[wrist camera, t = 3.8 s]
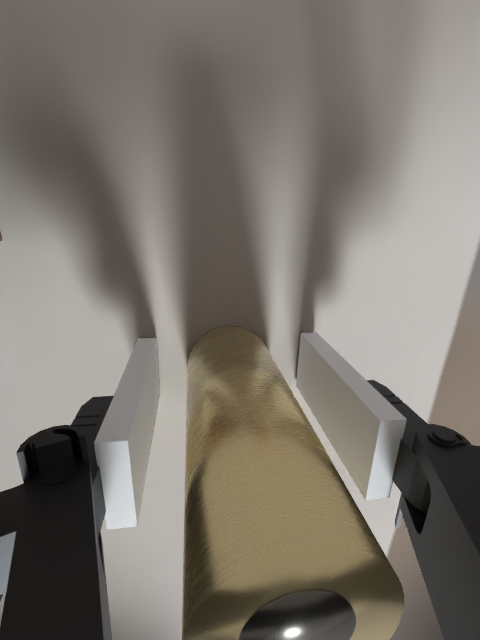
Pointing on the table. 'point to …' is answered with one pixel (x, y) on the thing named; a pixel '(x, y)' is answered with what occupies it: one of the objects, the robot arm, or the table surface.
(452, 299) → the table surface
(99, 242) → the table surface
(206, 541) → the tan cylinder
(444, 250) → the table surface
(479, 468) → the robot arm
